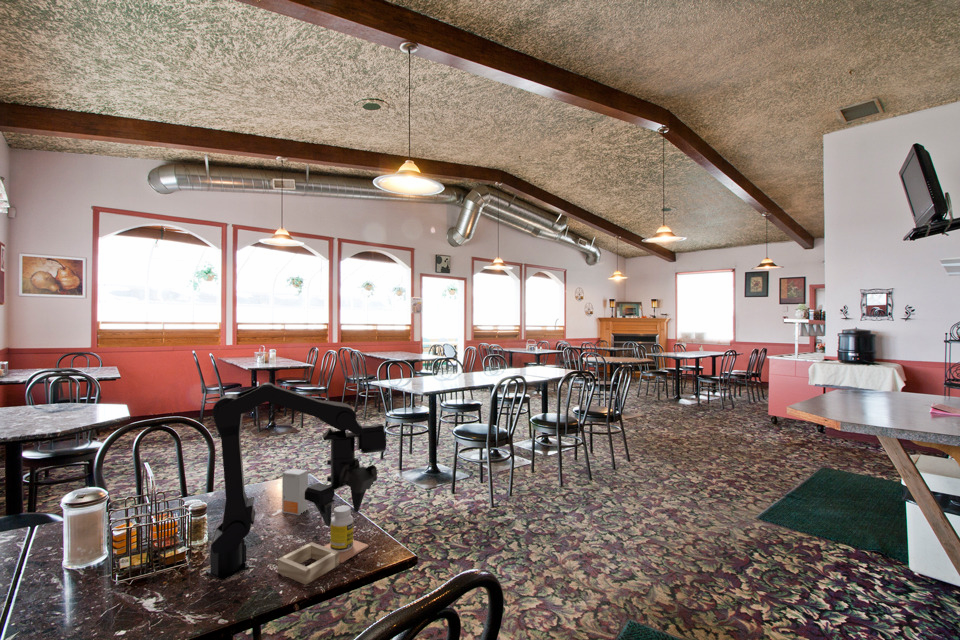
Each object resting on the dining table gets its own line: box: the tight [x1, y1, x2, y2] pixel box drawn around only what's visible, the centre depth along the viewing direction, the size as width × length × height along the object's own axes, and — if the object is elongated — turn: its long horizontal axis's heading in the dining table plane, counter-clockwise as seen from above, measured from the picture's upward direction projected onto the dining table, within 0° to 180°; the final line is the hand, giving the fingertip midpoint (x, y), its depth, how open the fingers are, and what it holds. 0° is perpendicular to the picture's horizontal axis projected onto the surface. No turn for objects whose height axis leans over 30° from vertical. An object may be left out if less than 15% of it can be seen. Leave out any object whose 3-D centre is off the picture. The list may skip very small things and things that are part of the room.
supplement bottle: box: [329, 505, 354, 553], centre depth 116 cm, size 5×5×10 cm
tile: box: [324, 539, 369, 564], centre depth 116 cm, size 9×9×1 cm
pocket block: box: [277, 541, 340, 585], centre depth 107 cm, size 9×9×3 cm
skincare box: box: [281, 468, 309, 516], centre depth 139 cm, size 6×4×12 cm
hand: (342, 518), depth 116 cm, fingers open, 9 cm apart
